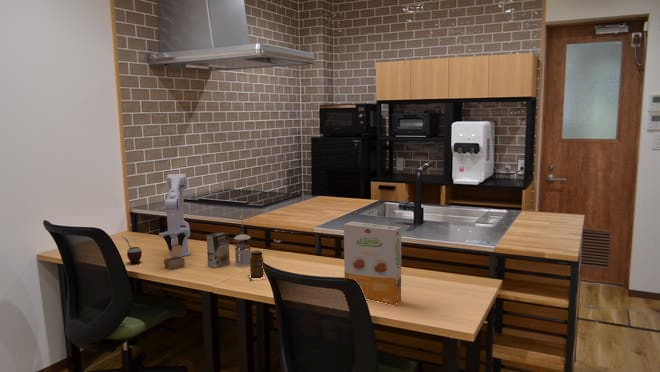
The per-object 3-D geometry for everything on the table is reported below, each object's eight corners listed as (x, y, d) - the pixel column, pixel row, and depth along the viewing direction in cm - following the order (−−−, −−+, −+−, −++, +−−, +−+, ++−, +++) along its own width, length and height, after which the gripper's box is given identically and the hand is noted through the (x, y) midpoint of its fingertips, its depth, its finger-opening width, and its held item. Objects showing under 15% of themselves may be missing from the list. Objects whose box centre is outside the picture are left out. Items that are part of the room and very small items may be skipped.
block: (169, 255, 256) (168, 245, 255) (178, 253, 259) (177, 243, 258) (173, 256, 252) (172, 247, 252) (181, 255, 255) (181, 245, 254)
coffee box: (215, 268, 252) (214, 236, 250) (207, 266, 256) (205, 234, 254) (230, 264, 259) (228, 233, 257) (222, 262, 263) (220, 231, 261)
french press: (239, 268, 252) (237, 218, 248) (228, 263, 261) (225, 215, 257) (257, 264, 258) (255, 215, 254) (245, 259, 267) (243, 212, 263)
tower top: (164, 263, 255) (163, 259, 255) (176, 260, 260) (176, 256, 260) (172, 266, 250) (171, 261, 250) (184, 263, 256) (184, 258, 255)
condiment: (263, 274, 242) (262, 249, 240) (266, 279, 234) (265, 254, 232) (248, 275, 240) (247, 250, 239) (250, 281, 232) (249, 255, 230)
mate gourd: (145, 262, 266) (143, 233, 264) (133, 266, 259) (131, 237, 256) (134, 260, 269) (132, 232, 267) (122, 264, 262) (120, 236, 260)
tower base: (164, 268, 256) (164, 263, 256) (178, 265, 260) (177, 260, 260) (170, 271, 251) (170, 266, 250) (183, 268, 255) (183, 263, 255)
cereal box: (401, 301, 204) (401, 227, 200) (394, 306, 199) (393, 230, 195) (352, 291, 217) (351, 221, 212) (344, 295, 211) (343, 224, 207)
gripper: (162, 225, 246) (164, 253, 247) (190, 221, 255) (192, 248, 257) (156, 223, 251) (158, 250, 253) (184, 219, 260) (186, 245, 262)
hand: (175, 249), depth 255 cm, fingers closed on block, 4 cm apart
